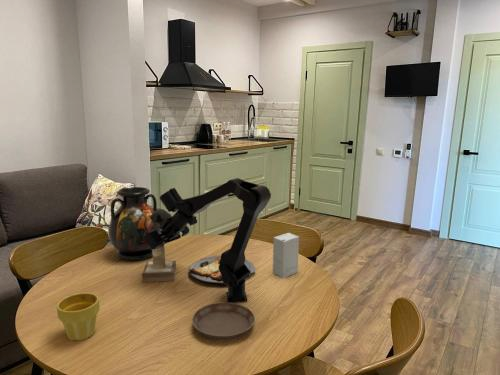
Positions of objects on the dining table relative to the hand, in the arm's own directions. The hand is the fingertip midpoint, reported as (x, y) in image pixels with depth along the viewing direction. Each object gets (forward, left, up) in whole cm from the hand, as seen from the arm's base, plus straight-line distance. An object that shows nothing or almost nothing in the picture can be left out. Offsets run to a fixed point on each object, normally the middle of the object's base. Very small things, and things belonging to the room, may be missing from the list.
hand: (155, 246), depth 137 cm
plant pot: (-37, +16, -11) cm, 42 cm away
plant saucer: (-37, -23, -12) cm, 45 cm away
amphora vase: (+20, +11, -11) cm, 26 cm away
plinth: (-1, -1, -11) cm, 11 cm away
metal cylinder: (-1, -1, -8) cm, 8 cm away
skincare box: (-4, -48, -11) cm, 50 cm away
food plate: (-1, -24, -12) cm, 27 cm away
